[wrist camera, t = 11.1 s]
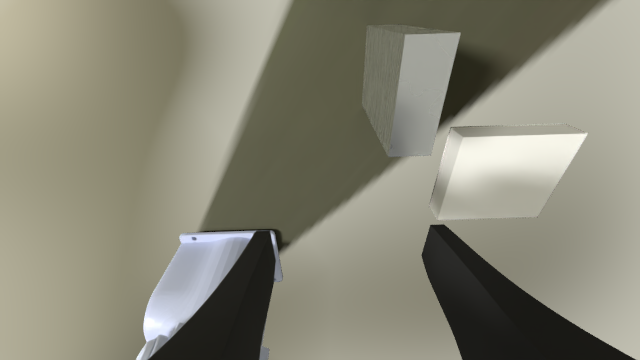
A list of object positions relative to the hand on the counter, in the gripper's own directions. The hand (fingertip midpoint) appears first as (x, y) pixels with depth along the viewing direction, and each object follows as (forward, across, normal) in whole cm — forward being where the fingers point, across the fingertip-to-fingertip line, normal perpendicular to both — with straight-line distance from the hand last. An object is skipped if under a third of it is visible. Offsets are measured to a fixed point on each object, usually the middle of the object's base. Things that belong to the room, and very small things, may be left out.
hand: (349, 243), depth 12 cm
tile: (+10, -9, +3) cm, 14 cm away
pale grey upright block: (+10, -3, -6) cm, 12 cm away
